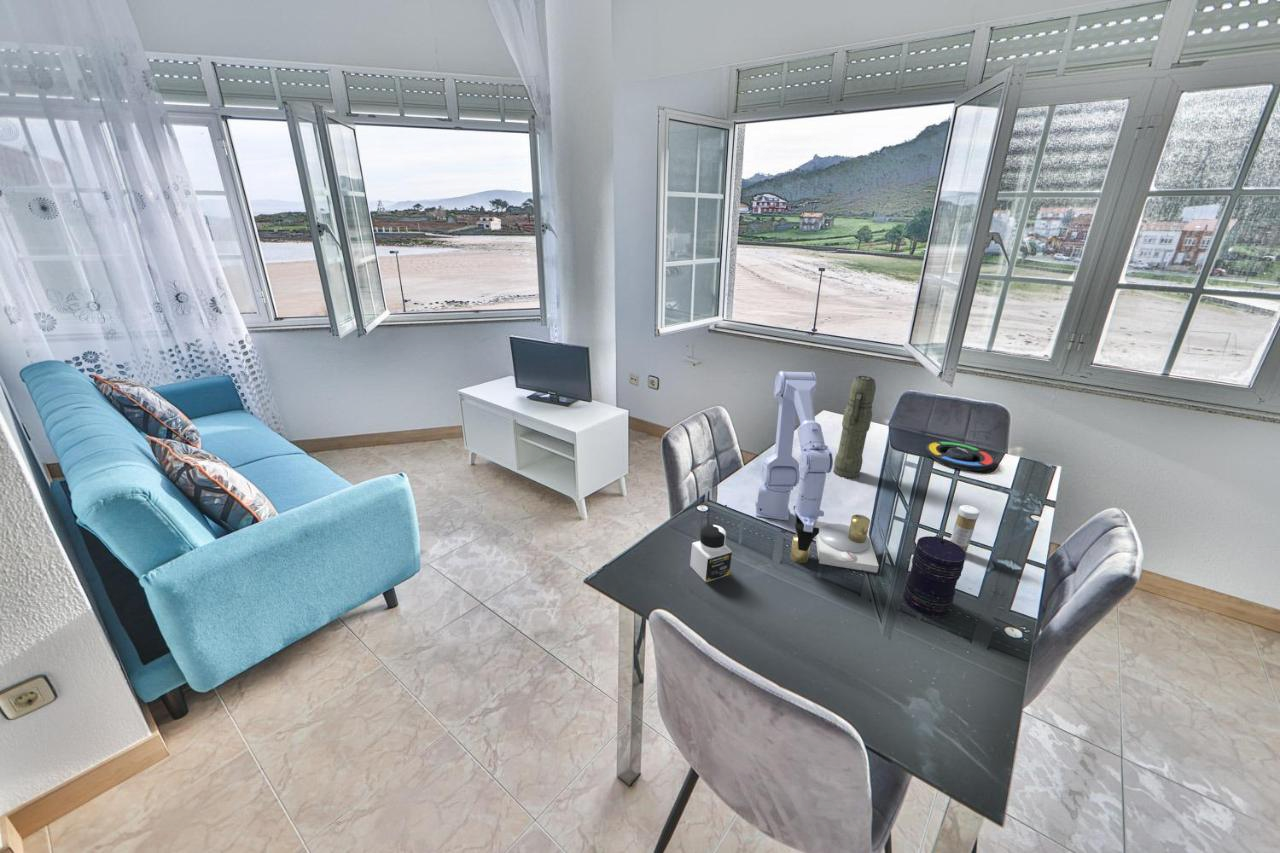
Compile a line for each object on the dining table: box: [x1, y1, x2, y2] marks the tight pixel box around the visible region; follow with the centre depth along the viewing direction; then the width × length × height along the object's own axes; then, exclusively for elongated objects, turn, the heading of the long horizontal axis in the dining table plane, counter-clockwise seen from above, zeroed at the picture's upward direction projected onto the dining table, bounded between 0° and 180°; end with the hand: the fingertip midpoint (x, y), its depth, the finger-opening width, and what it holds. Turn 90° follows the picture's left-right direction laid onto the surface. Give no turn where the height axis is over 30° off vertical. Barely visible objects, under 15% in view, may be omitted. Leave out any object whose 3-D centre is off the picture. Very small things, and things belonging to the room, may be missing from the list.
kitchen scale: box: [813, 520, 880, 574], centre depth 140 cm, size 14×18×3 cm
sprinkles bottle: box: [949, 504, 980, 554], centre depth 139 cm, size 5×5×13 cm
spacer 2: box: [848, 514, 871, 543], centre depth 139 cm, size 4×4×6 cm
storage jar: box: [902, 535, 967, 618], centre depth 119 cm, size 10×10×15 cm
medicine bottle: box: [689, 524, 733, 583], centre depth 127 cm, size 7×7×12 cm
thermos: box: [832, 375, 877, 480], centre depth 179 cm, size 9×12×35 cm
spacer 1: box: [789, 533, 812, 564], centre depth 135 cm, size 4×4×6 cm
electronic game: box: [925, 440, 996, 472], centre depth 199 cm, size 23×23×5 cm
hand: (801, 541), depth 134 cm, fingers open, 7 cm apart
